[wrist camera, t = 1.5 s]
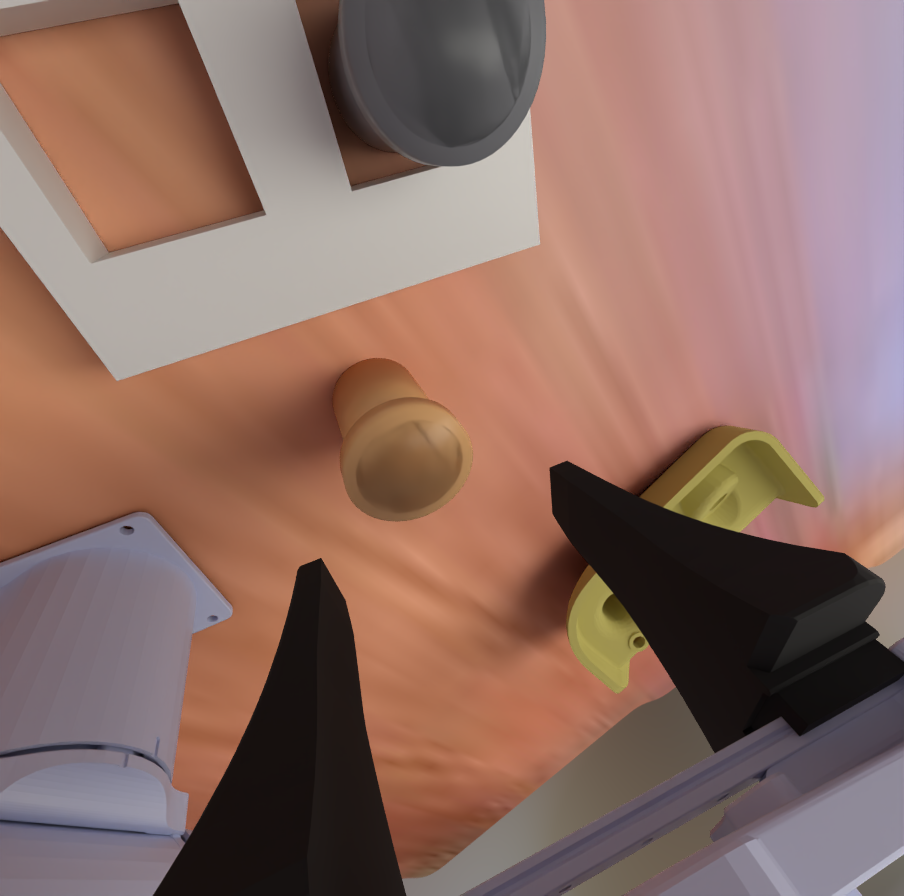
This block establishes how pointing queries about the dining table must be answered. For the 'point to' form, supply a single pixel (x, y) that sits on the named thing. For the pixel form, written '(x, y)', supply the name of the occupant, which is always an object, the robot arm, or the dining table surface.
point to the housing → (261, 233)
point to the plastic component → (699, 497)
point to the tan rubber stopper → (397, 443)
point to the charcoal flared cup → (437, 74)
